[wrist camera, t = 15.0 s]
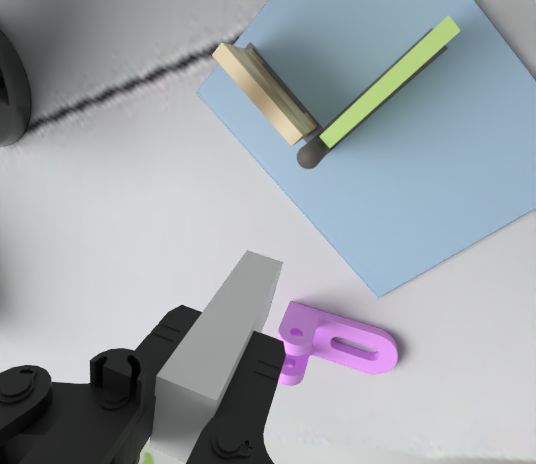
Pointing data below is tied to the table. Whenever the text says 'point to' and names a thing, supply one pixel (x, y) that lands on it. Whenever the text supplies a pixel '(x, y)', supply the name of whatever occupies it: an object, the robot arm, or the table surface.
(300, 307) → the bracket
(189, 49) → the table surface
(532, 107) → the board
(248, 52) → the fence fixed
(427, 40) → the fence panel
